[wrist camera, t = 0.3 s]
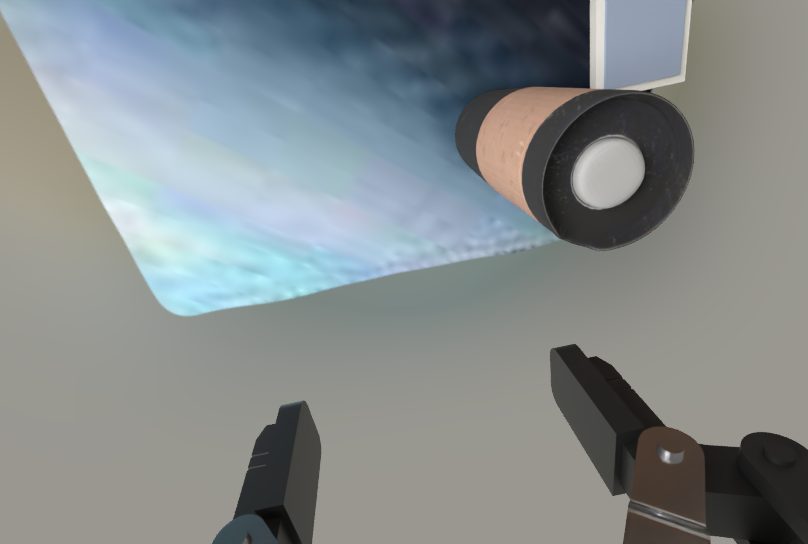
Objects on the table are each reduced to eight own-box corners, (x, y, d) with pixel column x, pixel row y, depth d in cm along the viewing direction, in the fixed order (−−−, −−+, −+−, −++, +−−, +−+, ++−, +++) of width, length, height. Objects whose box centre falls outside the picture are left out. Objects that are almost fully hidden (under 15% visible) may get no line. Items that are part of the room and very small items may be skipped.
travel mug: (518, 70, 35) (684, 53, 17) (544, 152, 38) (708, 211, 20) (438, 112, 36) (515, 138, 18) (470, 189, 39) (563, 278, 21)
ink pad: (590, -34, 33) (598, -38, 32) (687, -55, 33) (700, -60, 32) (590, 100, 37) (597, 100, 36) (676, 81, 37) (687, 81, 36)
